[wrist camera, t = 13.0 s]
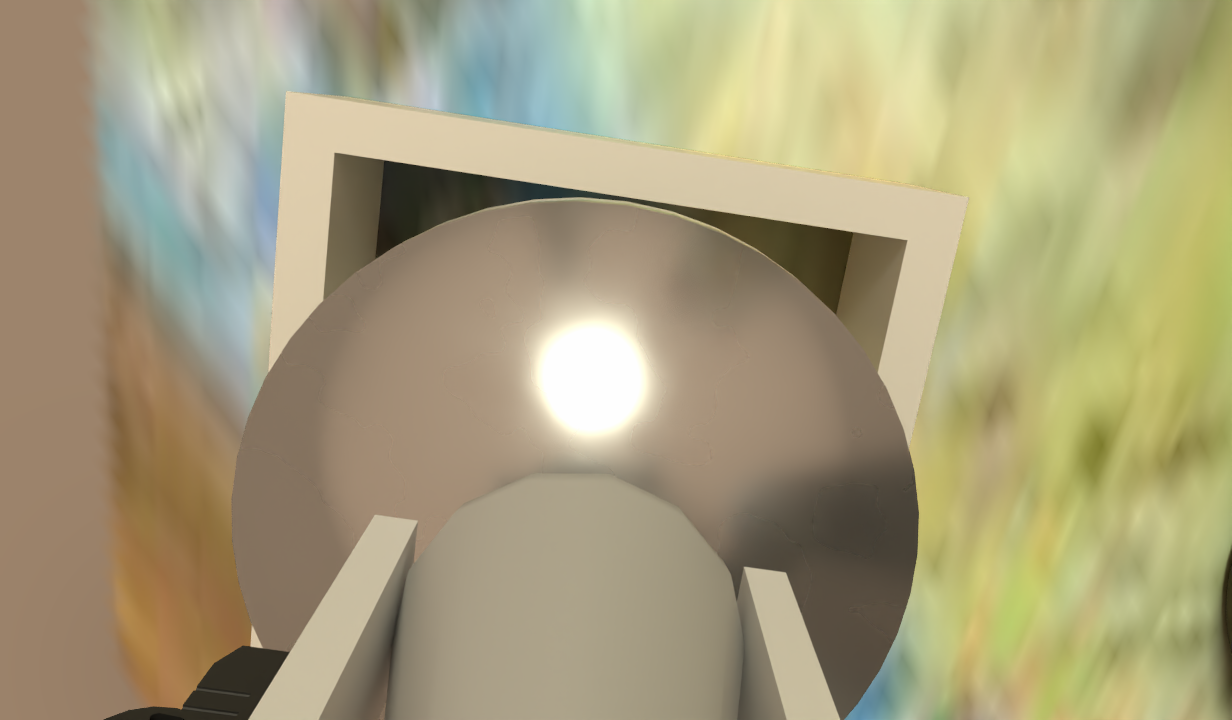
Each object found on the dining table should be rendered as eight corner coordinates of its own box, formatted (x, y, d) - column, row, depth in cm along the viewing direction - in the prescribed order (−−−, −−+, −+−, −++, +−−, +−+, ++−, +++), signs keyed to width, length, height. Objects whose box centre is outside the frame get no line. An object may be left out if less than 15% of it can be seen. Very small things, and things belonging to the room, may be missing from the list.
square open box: (791, 699, 31) (869, 960, 22) (304, 634, 31) (159, 871, 21) (906, 183, 27) (1067, 218, 17) (346, 96, 27) (191, 83, 17)
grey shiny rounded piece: (769, 816, 28) (809, 997, 22) (294, 753, 28) (208, 923, 22) (901, 226, 24) (993, 261, 18) (342, 140, 23) (251, 148, 17)
